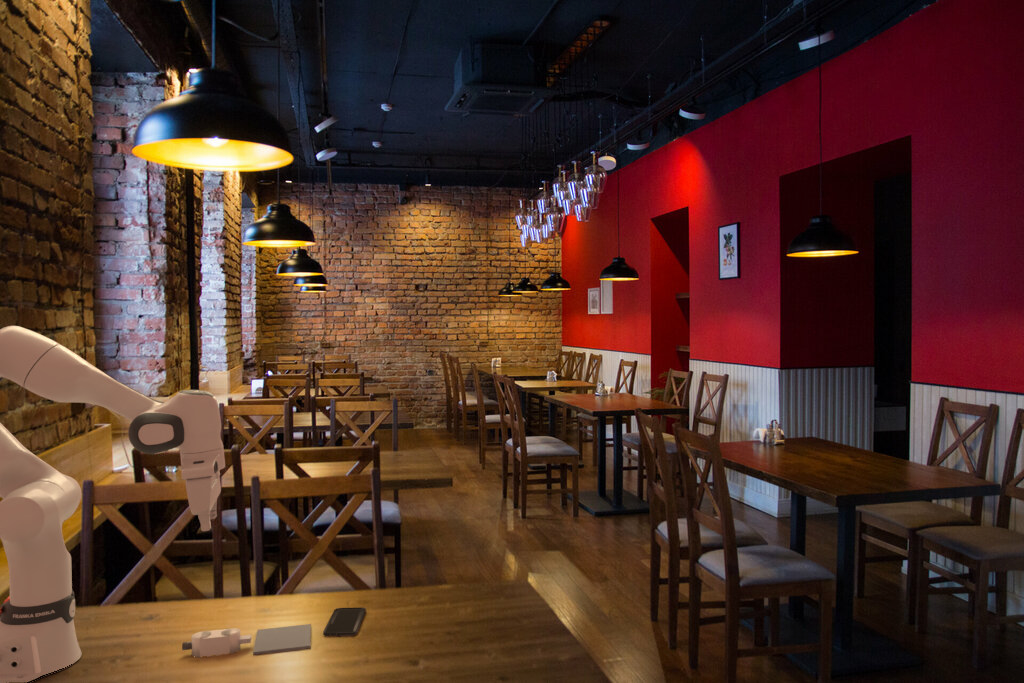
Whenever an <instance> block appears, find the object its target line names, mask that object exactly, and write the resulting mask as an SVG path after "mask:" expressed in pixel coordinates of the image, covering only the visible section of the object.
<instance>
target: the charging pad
mask: <svg viewBox="0 0 1024 683" xmlns="http://www.w3.org/2000/svg"><path fill="white" fill-rule="evenodd" d="M311 627H312V626H311V623H309V624H308V623H307V624H306V623H305V624H298V625H288V626H280V627H279V626H278V627H272V628H271V627H270V628H269V627H268V628H261V629H257V630H256V637H255V640H254V645H253V646H254V647H253V652H252V653H253V654H252V655H253V656H254V655H255V656H256V655H263V654H272V653H281V652H291V651H298V650H308V649H311V637H312V636H311V634H312V632H311V630H312V629H311Z"/></svg>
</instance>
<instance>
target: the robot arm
mask: <svg viewBox="0 0 1024 683" xmlns="http://www.w3.org/2000/svg"><path fill="white" fill-rule="evenodd" d="M4 379H6V380H9V381H12V382H13V383H15V384H17V385H18V386H20V387H22V388H24V389H26V390H27V391H29V392H30V393H33V394H35V395H37V396H39V397H42V398H44V399H47V400H50V401H53V402H55V403H69V404H70V403H81V404H91V405H96V406H100V407H102V408H105V409H107V410H109V411H111V412H114V413H115V414H117V415H119V416H121V417H123V418H125V419H127V420H129V421H131V422H130V425H129V427H128V432H127V433H128V434H127V435H128V439H129V442H130V443H131V445H132V447H133V448H134V449H135V450H137V451H138V452H139V453H142V454H146V455H157V454H161V453H165V452H166V451H170V450H173V449H179V456H180V457H179V458H180V466H181V467H180V468H181V472H180V473H181V479H182V480H183V481H185V488H186V496H187V501H188V505H189V510H190V512H191V514H192V515H193V516H197V517H198V520H199V523H200V529H201V531H202V532H208V531H210V530H211V528H212V524H211V523H212V522H211V520H215V519H216V518H217V516H218V514H217V504H218V502H217V501H218V498H219V496H220V495H221V491H222V486H221V477H220V475H221V473H220V472H221V470H223V469H225V468H226V460H225V449H224V444H223V441H222V438H221V432H222V421H221V413H220V412H221V411H220V408H219V403H218V401H217V398H216V396H215V395H214V394H213V393H212V392H211V391H208V390H203V389H183V390H180V391H177V393H176V394H175V395H174V396H172V397H171V398H170V399H167V400H166V401H161V400H156V399H154V398H151V397H150V396H147V395H145V394H143V393H142V392H139V391H138V390H136V389H134V388H133V387H130V386H128V385H126V384H125V383H123V382H120V381H119V380H117V379H114V378H113V377H111V376H109V375H108V374H106V373H105V372H103V371H102V370H101V369H99V368H98V367H96V366H94V365H93V364H91V363H90V362H89V361H87V360H86V359H84V358H82V357H81V356H80V355H78V354H77V353H75V352H74V351H72V350H70V349H69V348H67V347H66V346H64V345H62V344H61V343H59V342H57V341H55V340H53V339H51V338H49V337H47V336H45V335H42V334H41V333H39V332H36V331H34V330H31V329H28V328H25V327H22V326H19V325H8V326H4V327H2V328H0V383H1V382H2V381H3V380H4ZM82 495H83V494H82V489H81V486H80V484H79V482H78V481H77V480H76V479H75V478H73V477H71V476H70V475H67V474H64V473H63V472H60V471H59V470H57V469H56V468H54V467H53V466H51V464H49V463H47V462H45V461H44V460H43V459H41V458H40V457H38V455H35V454H34V453H33V452H32V451H31V450H29V449H28V448H26V447H25V446H24V445H23V443H21V442H20V441H19V440H18V439H17V438H16V437H15V436H14V434H12V433H11V431H10V430H8V428H6V427H5V426H4V425H3V424H2V422H0V498H2V500H0V540H1V543H2V546H3V549H4V552H5V556H6V559H7V565H8V577H9V578H8V579H9V580H8V581H9V582H8V583H9V596H8V597H7V598H6V599H5V600H4V601H3V604H1V605H0V683H6V682H7V683H9V682H28V681H31V680H33V679H36V678H38V677H40V676H42V675H45V674H48V673H51V672H54V671H57V670H59V669H62V668H64V669H66V668H68V667H70V666H72V665H73V664H75V663H76V662H77V661H78V660H80V658H81V657H82V654H83V653H82V650H81V648H80V644H79V642H78V641H79V640H78V638H77V633H76V628H75V622H74V618H75V615H76V614H75V613H76V598H75V592H74V590H73V588H72V587H73V583H72V582H73V581H72V577H73V576H72V570H73V569H72V555H71V553H70V552H69V551H68V550H67V547H66V545H65V544H66V543H65V541H64V536H63V524H64V522H65V521H67V520H68V519H69V518H71V517H72V516H73V514H75V512H76V510H77V509H78V507H79V506H80V502H81V500H82V497H83V496H82ZM71 664H72V665H71ZM69 665H70V666H69ZM67 666H68V667H67ZM65 667H66V668H65ZM62 670H63V669H62ZM59 671H60V670H59ZM57 672H58V671H57ZM54 673H55V672H54ZM51 674H52V673H51ZM48 675H49V674H48ZM45 676H46V675H45Z"/></svg>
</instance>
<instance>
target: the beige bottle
mask: <svg viewBox="0 0 1024 683" xmlns="http://www.w3.org/2000/svg"><path fill="white" fill-rule="evenodd" d="M251 643H252V634H245V635H241V629H240V628H236V627H233V628H231V627H230V628H224V629H215V630H204V631H203V630H202V631H198V632H196V633H193V634H192V635H191V641H184V642H182V645H181V649H182V651H189V650H191V656H192V657H193V656H195V657H194V658H202V657H201V656H207V657H212V656H211V655H216V656H222V654H225V655H229V654H228V653H232V654H235V653H234V652H236V653H238V652H239V651H241V645H243V644H251ZM237 651H238V652H237ZM226 653H227V654H226ZM220 654H221V655H220Z"/></svg>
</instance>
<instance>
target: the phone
mask: <svg viewBox="0 0 1024 683" xmlns="http://www.w3.org/2000/svg"><path fill="white" fill-rule="evenodd" d="M366 612H367V608H366V607H363V606H362V607H337V608H335V609H334V610H333V611H332V614H331V616H330V618H329V619H328V622H327V623H326V626H325V627H324V629H323V631H322V632H323V633H322V635H325V636H324V637H326V636H333V637H354V636H353V635H355V636H357V635H358V633H357V632H359V630H360V628H361V624H362V623H361V622H363V620H364V617H365V616H366ZM356 634H357V635H356Z"/></svg>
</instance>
